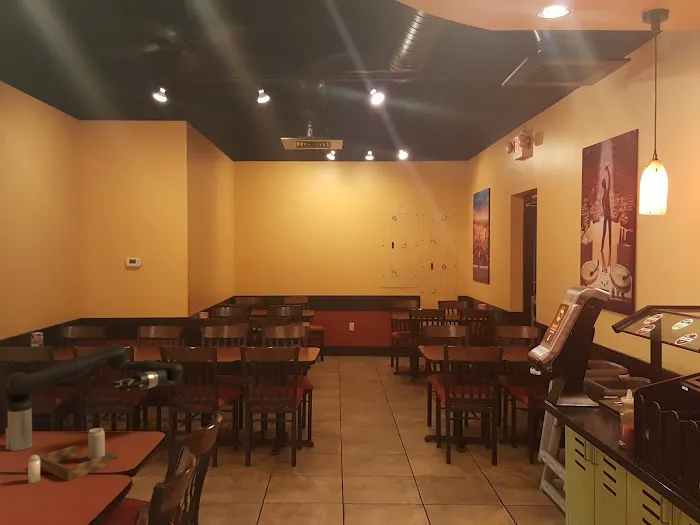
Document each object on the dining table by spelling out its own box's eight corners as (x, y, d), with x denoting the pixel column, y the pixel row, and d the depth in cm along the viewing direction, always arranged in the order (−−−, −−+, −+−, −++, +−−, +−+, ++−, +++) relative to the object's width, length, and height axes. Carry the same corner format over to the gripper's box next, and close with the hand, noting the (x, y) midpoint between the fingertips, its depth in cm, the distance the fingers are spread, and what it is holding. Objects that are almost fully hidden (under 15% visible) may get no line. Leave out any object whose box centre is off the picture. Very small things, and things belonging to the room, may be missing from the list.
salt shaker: (26, 483, 210) (26, 457, 209) (31, 478, 214) (30, 453, 213) (37, 482, 210) (37, 456, 210) (42, 478, 214) (41, 452, 214)
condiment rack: (75, 455, 238) (75, 445, 238) (107, 466, 225) (106, 455, 225) (37, 467, 224) (37, 456, 224) (68, 480, 212) (68, 469, 212)
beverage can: (98, 461, 230) (98, 432, 230) (84, 460, 231) (84, 431, 231) (108, 455, 236) (107, 428, 236) (94, 454, 237) (94, 427, 237)
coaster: (101, 451, 242) (101, 450, 242) (118, 457, 235) (118, 456, 235) (75, 460, 232) (75, 459, 232) (91, 466, 225) (91, 465, 225)
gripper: (135, 370, 259) (103, 376, 246) (155, 374, 251) (123, 381, 238) (135, 386, 259) (103, 393, 246) (154, 391, 251) (123, 398, 238)
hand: (113, 387), depth 242 cm, fingers open, 8 cm apart
